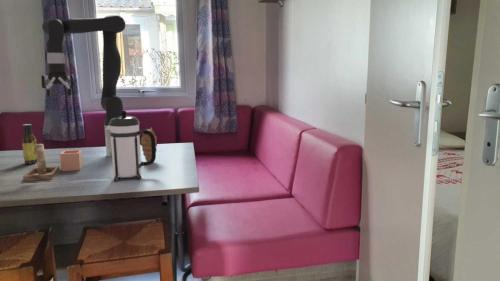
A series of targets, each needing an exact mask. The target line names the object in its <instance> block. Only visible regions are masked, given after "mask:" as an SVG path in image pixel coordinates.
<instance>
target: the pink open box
mask: <svg viewBox="0 0 500 281" xmlns="http://www.w3.org/2000/svg"><path fill="white" fill-rule="evenodd" d="M59 157H60V167H61V169H60V170H61V172H69V171H81V169H82V168H83V167H84V159H83V158H84V156H83V149H70V150H69V149H67V150H63V151H61V153H59Z"/></svg>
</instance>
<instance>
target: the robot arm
mask: <svg viewBox="0 0 500 281" xmlns="http://www.w3.org/2000/svg"><path fill="white" fill-rule="evenodd" d="M41 28H42V30H43V32H44V33H45V34H46V35H48V39H47V41H46V53H47V54H46V58H47V59H46V62H47V70H48V72H47V73H48V74H47V75H45V74H42V75H41V77H40V78H41V88H43V89H46V95H47V97H48V98H52V89H51V88H52V86H53V85H64V86H65V87H66V88H67V90H66V91H67V97H69V98H71V96H72V95H73V94H72V93H73V92H72V89H74V88H75V87H76V83H75V75H73V74H70V75H69V74H68V75H67V68H66V58H65V53H64V44H63V43H64V36H65V34H68V35H69V34H71V35H72V34H73V35H74V34H86V33H93V32H102V40H103V46H102V90H101V98H100V105H101V109H102V110H104V111H105V119H104V122H103V123H104V138H105V150H106V151H105V152H106V156H107V157H108V158H112V149H111V136H110V130H106V128H107V126H108V125H109V123H110V120H111V119H112V118H114V117H117V116H123V115H122V114H121V112H122V111H123V110H124V104H123V101H122V99H121V98H120V96H117V84H118V81H119V78H120V76H121V75H120V74H121V70H122V58H121V54H120V51H119V49H118V44H117V35H118V34H120V33H122V32H123V31H124V30H125V28H126V21H125V19H124V18H123V17H122V16H121V15H119V14H110V15H107V16H104V17H98V18H93V17H92V18H88V17H87V18H83V17H82V18H81V17H80V18H79V17H78V18H75V17H73V18H66V19H57V18H51V19H46V20H45V21H43V23H42V26H41ZM67 79H68V80H69V81H70V84H71V85H70V84H69V82H67ZM46 80H49V82H48V84H47V81H46Z"/></svg>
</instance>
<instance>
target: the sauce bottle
mask: <svg viewBox="0 0 500 281" xmlns="http://www.w3.org/2000/svg"><path fill="white" fill-rule="evenodd" d="M22 128H23V135H22V137H21V142H22V146H21V147H22V152H23V153H22V155H23V161H24V164H25V165H32V164H37V157H36V148H35V145H36V144H37V138H36V136H35V134H33V124H31V123H28V124H27V123H25V124H22Z"/></svg>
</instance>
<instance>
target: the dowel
mask: <svg viewBox="0 0 500 281" xmlns="http://www.w3.org/2000/svg"><path fill="white" fill-rule="evenodd" d="M35 148H36V157H37V163H36V164H37V168H38V175H44V174H47V173H46V167H47V166H46V165H47V164H46V163H47V162H46V156H45V146H44V144H43V143H36V145H35Z"/></svg>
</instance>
